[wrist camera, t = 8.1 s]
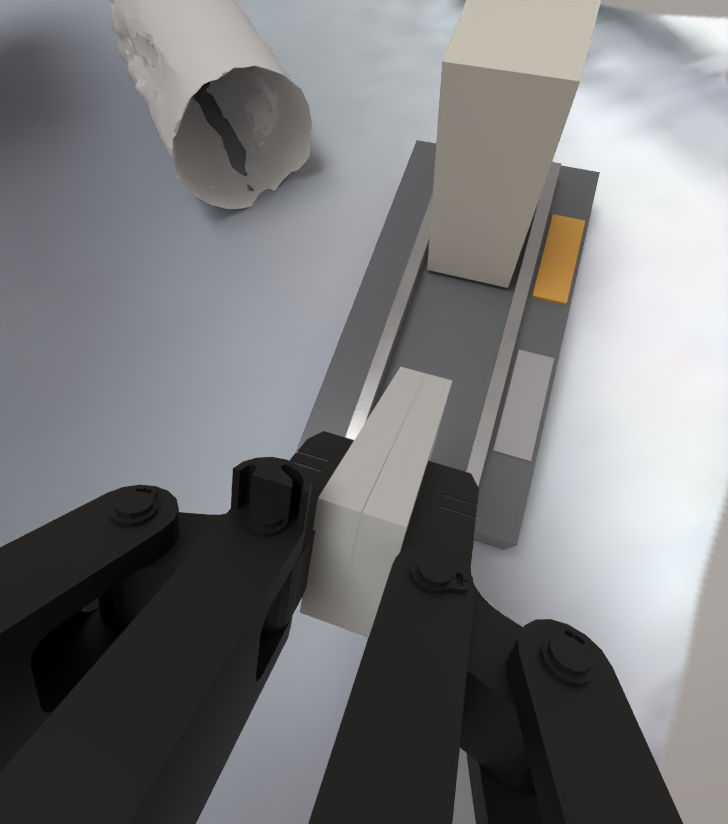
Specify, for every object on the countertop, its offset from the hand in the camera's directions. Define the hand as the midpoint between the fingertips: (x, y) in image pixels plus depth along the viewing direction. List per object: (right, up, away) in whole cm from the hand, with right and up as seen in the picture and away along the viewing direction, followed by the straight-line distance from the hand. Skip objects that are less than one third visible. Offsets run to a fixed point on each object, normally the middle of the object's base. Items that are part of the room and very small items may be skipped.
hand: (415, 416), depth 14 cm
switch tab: (+4, +9, +10) cm, 14 cm away
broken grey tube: (-12, +20, +19) cm, 30 cm away
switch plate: (+3, +4, +12) cm, 13 cm away
